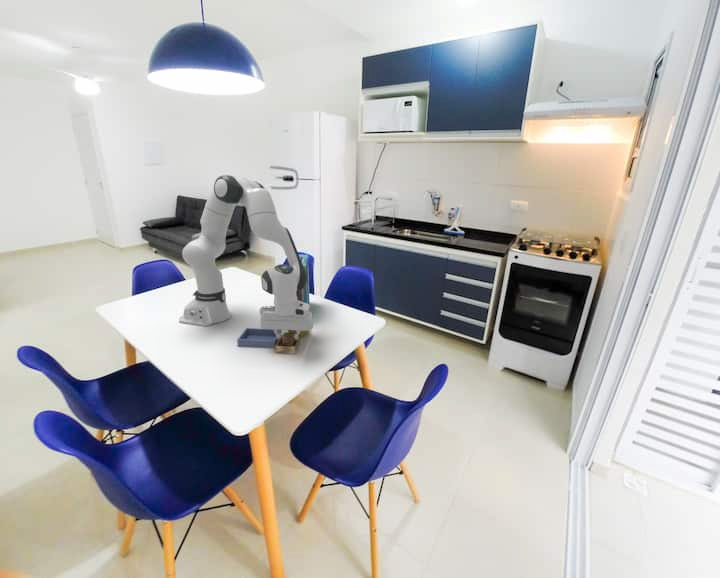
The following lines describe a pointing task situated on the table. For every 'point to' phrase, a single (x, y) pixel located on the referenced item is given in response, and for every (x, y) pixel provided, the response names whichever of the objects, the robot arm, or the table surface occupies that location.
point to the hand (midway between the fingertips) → (287, 338)
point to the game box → (304, 293)
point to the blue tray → (258, 338)
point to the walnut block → (288, 339)
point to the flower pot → (302, 333)
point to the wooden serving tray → (287, 347)
